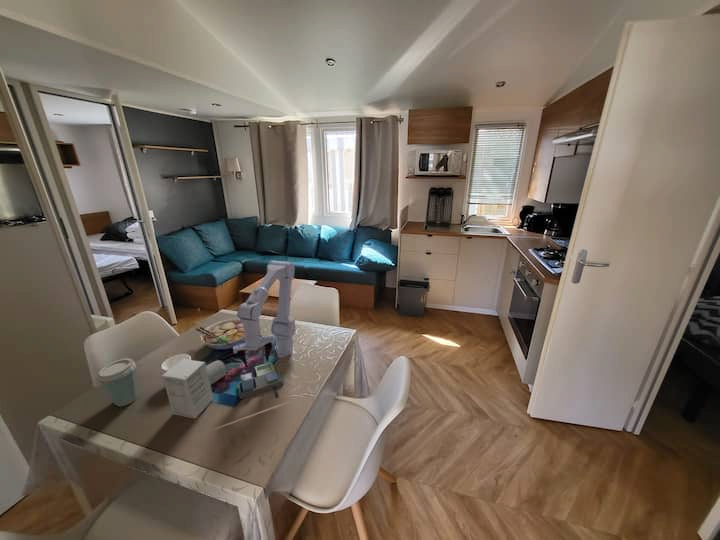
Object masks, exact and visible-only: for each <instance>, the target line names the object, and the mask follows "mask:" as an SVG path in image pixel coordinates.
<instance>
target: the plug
mask: <svg viewBox="0 0 720 540" xmlns="http://www.w3.org/2000/svg"><path fill="white" fill-rule="evenodd" d="M253 378H254V377H253V372H248V373H245V374H240V382H242V387H241V388H242V393H243V392H246V391H249V390H252V389H255V385H254V384H255V383H254V382H253Z"/></svg>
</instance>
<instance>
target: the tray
mask: <svg viewBox="0 0 720 540" xmlns="http://www.w3.org/2000/svg"><path fill="white" fill-rule="evenodd" d="M254 370H255V373H256V377H258V376H261V375H264V374H267V373H271V372H274V371H276V369H275V367H274V365H273V361H271V362H268V363H264V364H263V363H262V364H260V365H256V366H254Z"/></svg>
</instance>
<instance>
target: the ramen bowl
mask: <svg viewBox="0 0 720 540" xmlns="http://www.w3.org/2000/svg"><path fill="white" fill-rule="evenodd" d="M195 331H197V332H200V340H201V341H202V342H203V343H204V345H206V346H208V347H210V348H212V349H216V350H227V349H233V347H234V346H237V345H239V344H242V343H244V342H245V336H244V330H243V324H242V323H241V321H240V318H229V319H225V320H220V321H217V322H214V323H212V324H211V325H209V326H207V327H206V328H204V327H202V326H199V328H195Z"/></svg>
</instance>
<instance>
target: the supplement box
mask: <svg viewBox="0 0 720 540" xmlns="http://www.w3.org/2000/svg"><path fill="white" fill-rule="evenodd" d="M206 366H207V365H206V361H199V360H193V359H191V360H187V359H183V360H181V361H180V362H179V363H177V364H176V365H175V366H174V367H172V368H171V369H170V370H168V371H167V372H166V373H163V374H162V375H161V377H162V382H163V384H164V388H165V390H166V391H165V392H166V393H167V397H168V401H169V405H170V407H171V411H172V414H173V415H175V416H180V417H184V418H190V419H197V418H198V417H199V415H201V413H202V412H203V411H204V410H205V409H206V408H207V407H208V406H209V405H210V403H212V402H213V399H214V396H213V391H212V385H210V382H209V377H208V373H207V369H206Z"/></svg>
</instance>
